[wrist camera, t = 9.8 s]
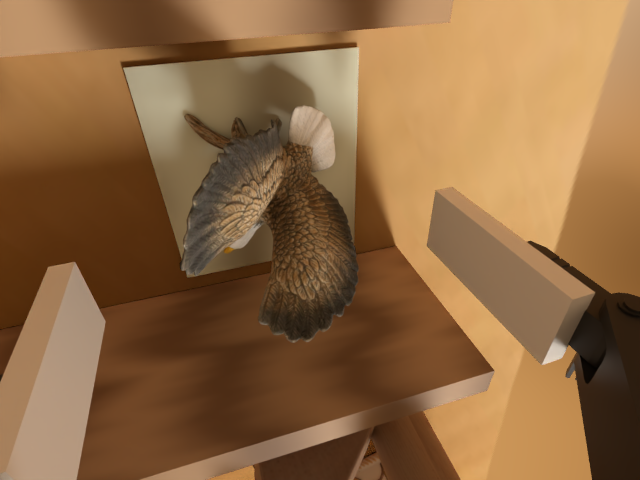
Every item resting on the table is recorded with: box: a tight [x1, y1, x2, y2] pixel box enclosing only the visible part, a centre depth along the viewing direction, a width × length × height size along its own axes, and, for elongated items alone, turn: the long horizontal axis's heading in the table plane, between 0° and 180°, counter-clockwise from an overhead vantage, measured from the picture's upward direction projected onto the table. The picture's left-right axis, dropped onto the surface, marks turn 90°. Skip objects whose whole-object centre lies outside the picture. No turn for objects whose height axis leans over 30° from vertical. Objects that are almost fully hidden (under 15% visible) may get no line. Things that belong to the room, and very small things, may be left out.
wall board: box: [0, 0, 494, 480], centre depth 15 cm, size 24×16×10 cm, turn 92°
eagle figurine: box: [180, 105, 359, 343], centre depth 15 cm, size 8×7×9 cm
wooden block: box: [253, 411, 460, 480], centre depth 21 cm, size 4×11×18 cm, turn 83°
